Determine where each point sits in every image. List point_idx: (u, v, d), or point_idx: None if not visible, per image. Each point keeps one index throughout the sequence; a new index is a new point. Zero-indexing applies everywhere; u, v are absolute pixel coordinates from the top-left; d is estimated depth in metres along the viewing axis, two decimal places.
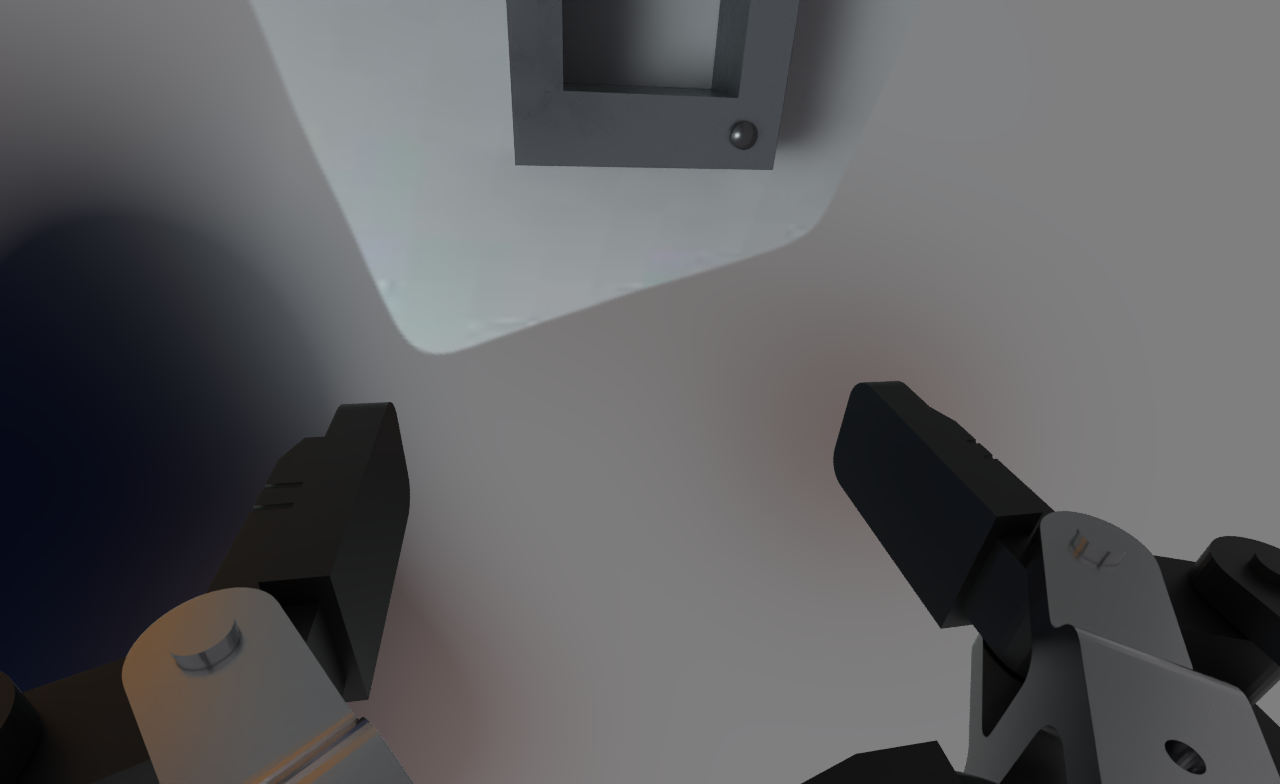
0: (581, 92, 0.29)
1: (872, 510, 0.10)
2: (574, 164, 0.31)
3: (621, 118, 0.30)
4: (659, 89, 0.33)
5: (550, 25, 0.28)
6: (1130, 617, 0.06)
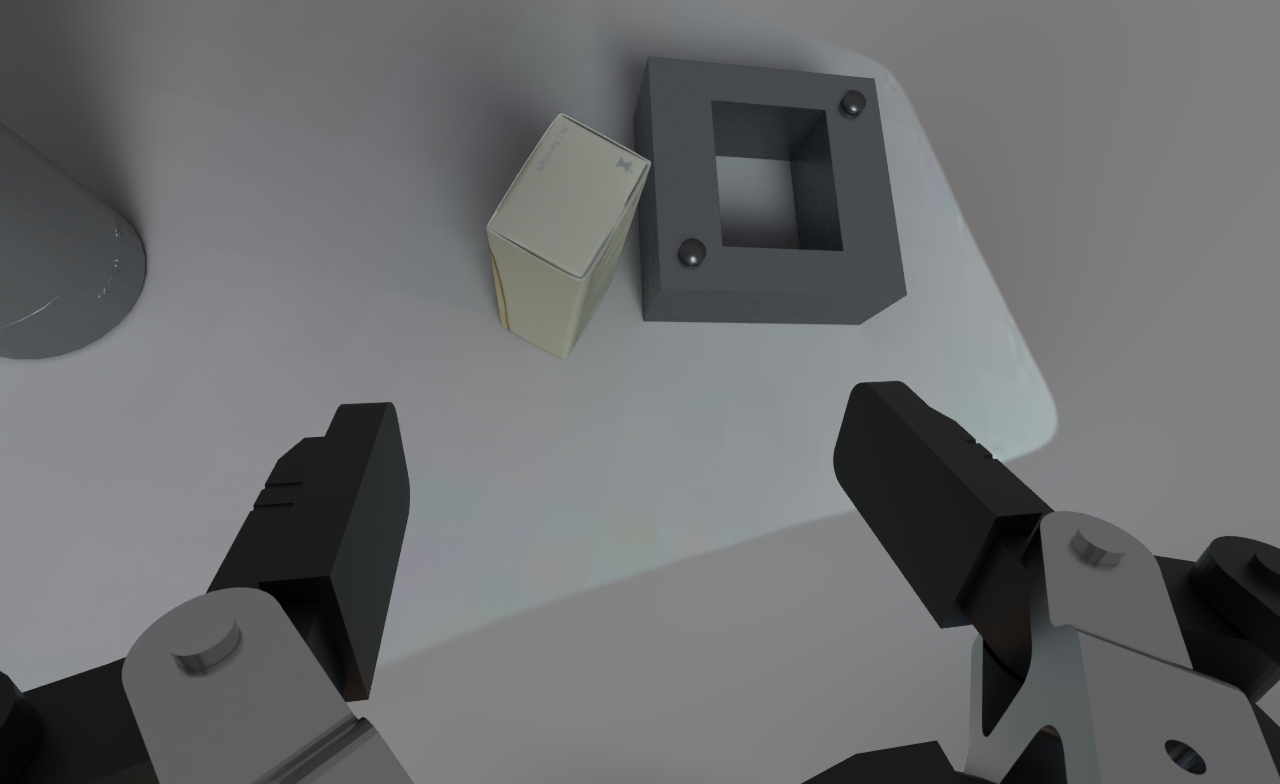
0: (842, 236, 0.33)
1: (872, 510, 0.10)
2: (898, 244, 0.34)
3: (856, 204, 0.34)
4: (806, 193, 0.37)
5: (798, 258, 0.32)
6: (1131, 617, 0.06)
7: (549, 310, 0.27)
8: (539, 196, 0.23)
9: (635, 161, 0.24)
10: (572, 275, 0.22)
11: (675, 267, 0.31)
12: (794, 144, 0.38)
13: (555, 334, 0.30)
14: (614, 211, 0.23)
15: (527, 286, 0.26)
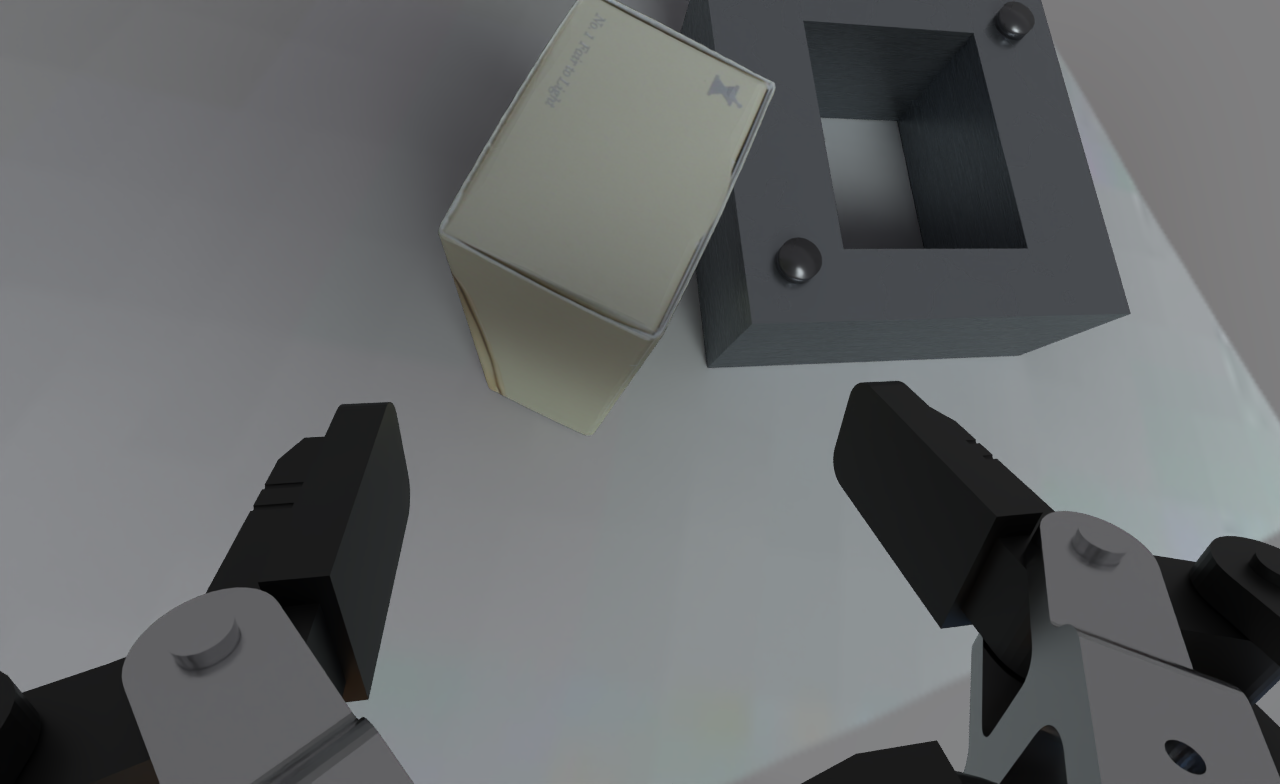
0: (1022, 225, 0.21)
1: (872, 510, 0.10)
2: (1106, 234, 0.21)
3: (1036, 175, 0.22)
4: (935, 165, 0.25)
5: (962, 263, 0.20)
6: (1130, 617, 0.06)
7: (573, 380, 0.15)
8: (552, 159, 0.11)
9: (744, 84, 0.12)
10: (633, 328, 0.10)
11: (773, 287, 0.19)
12: (910, 94, 0.26)
13: (579, 409, 0.18)
14: (711, 186, 0.11)
15: (532, 342, 0.13)
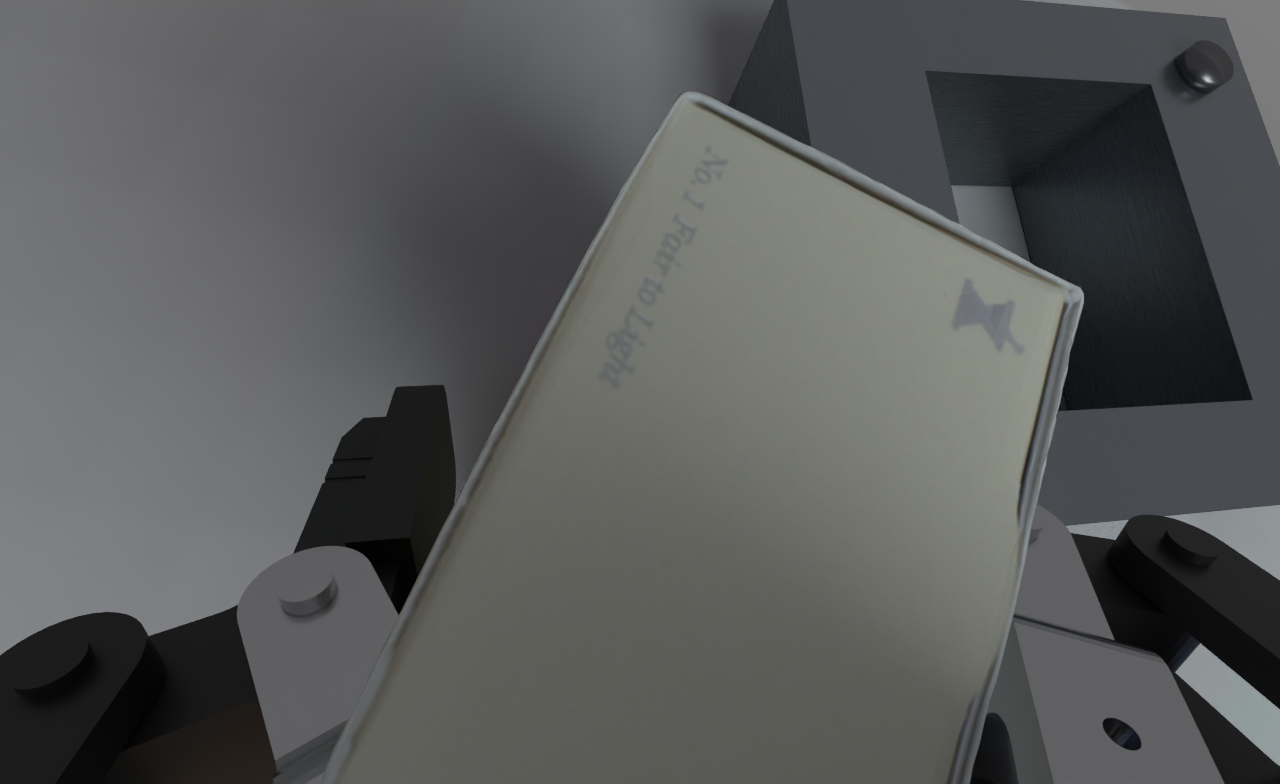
0: (1241, 365, 0.15)
1: None
2: None
3: (1252, 288, 0.15)
4: (1077, 254, 0.19)
5: (1167, 427, 0.14)
6: (1053, 591, 0.06)
7: None
8: (620, 531, 0.04)
9: (1024, 296, 0.05)
10: None
11: None
12: (1039, 157, 0.20)
13: None
14: (980, 560, 0.05)
15: None
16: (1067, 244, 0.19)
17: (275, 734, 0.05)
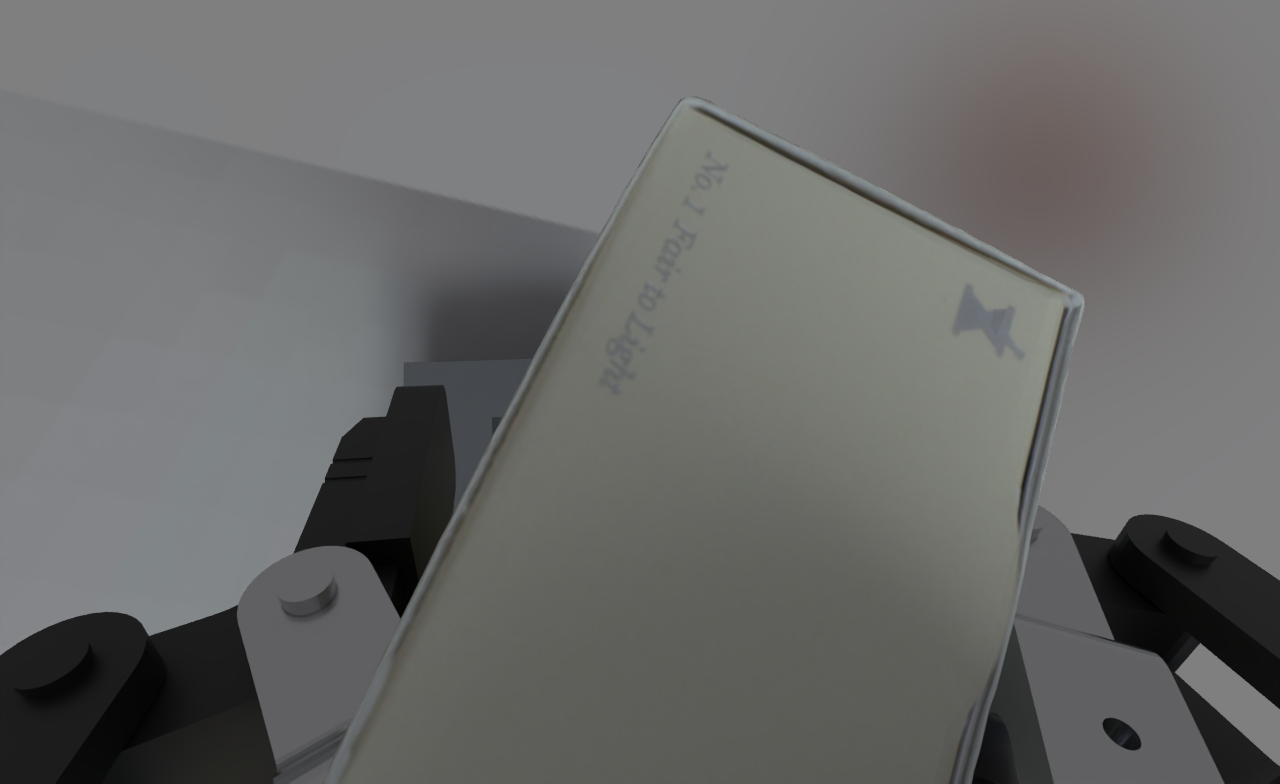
0: None
1: None
2: None
3: None
4: None
5: None
6: (1053, 592, 0.06)
7: None
8: (621, 537, 0.04)
9: (1024, 301, 0.05)
10: None
11: None
12: None
13: None
14: (981, 567, 0.05)
15: None
16: None
17: (275, 734, 0.05)
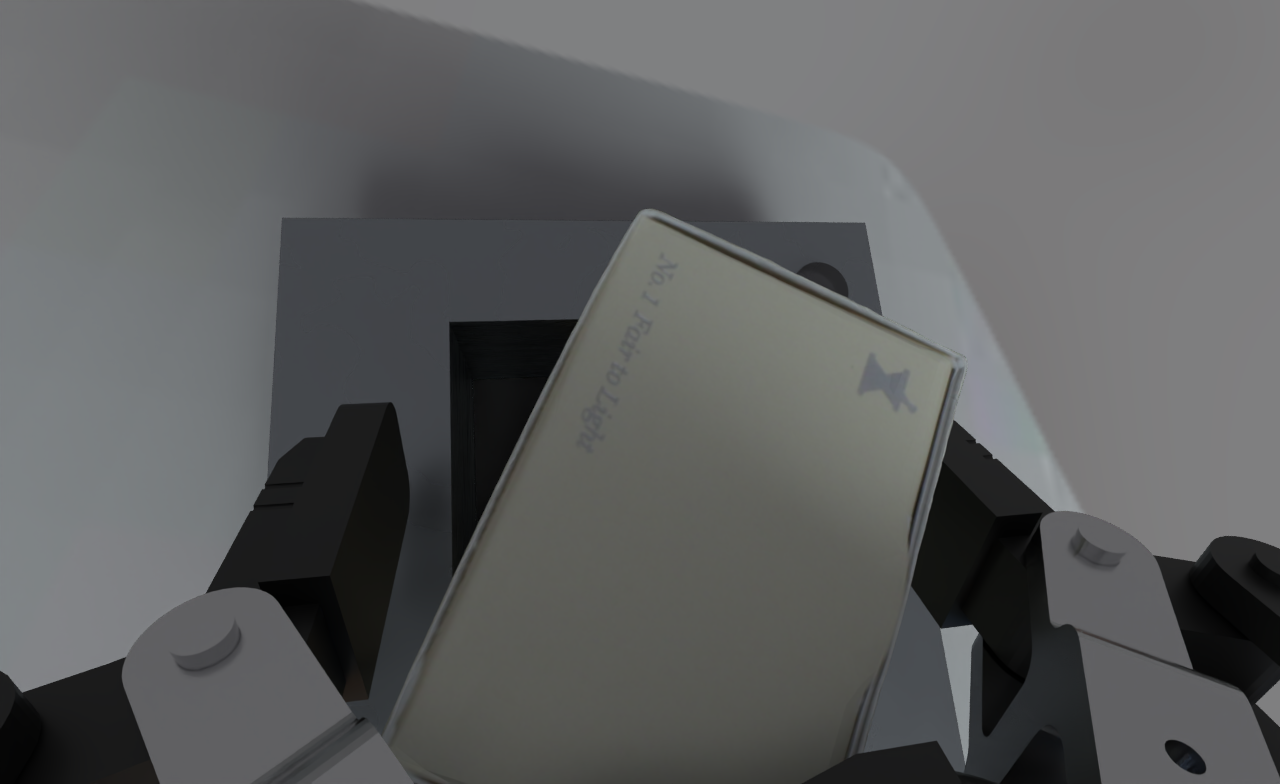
0: None
1: None
2: (945, 674, 0.13)
3: None
4: None
5: None
6: (1130, 616, 0.06)
7: None
8: (594, 563, 0.06)
9: (917, 366, 0.07)
10: None
11: None
12: None
13: None
14: (876, 580, 0.06)
15: None
16: None
17: None
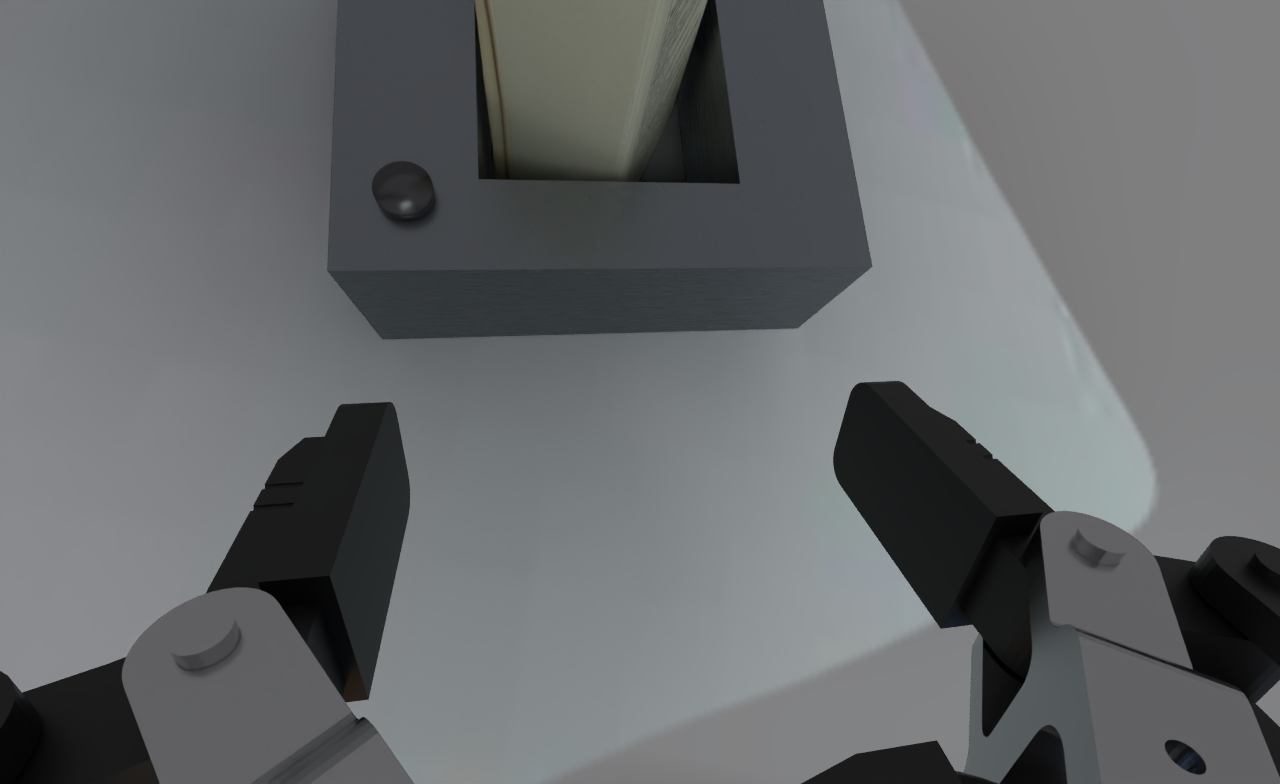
0: (737, 155, 0.17)
1: (872, 510, 0.10)
2: (851, 169, 0.17)
3: (765, 95, 0.17)
4: (691, 97, 0.21)
5: (645, 200, 0.16)
6: (1129, 616, 0.06)
7: (590, 86, 0.14)
8: None
9: None
10: None
11: (366, 225, 0.14)
12: None
13: (594, 169, 0.17)
14: None
15: (546, 10, 0.12)
16: (688, 91, 0.21)
17: None
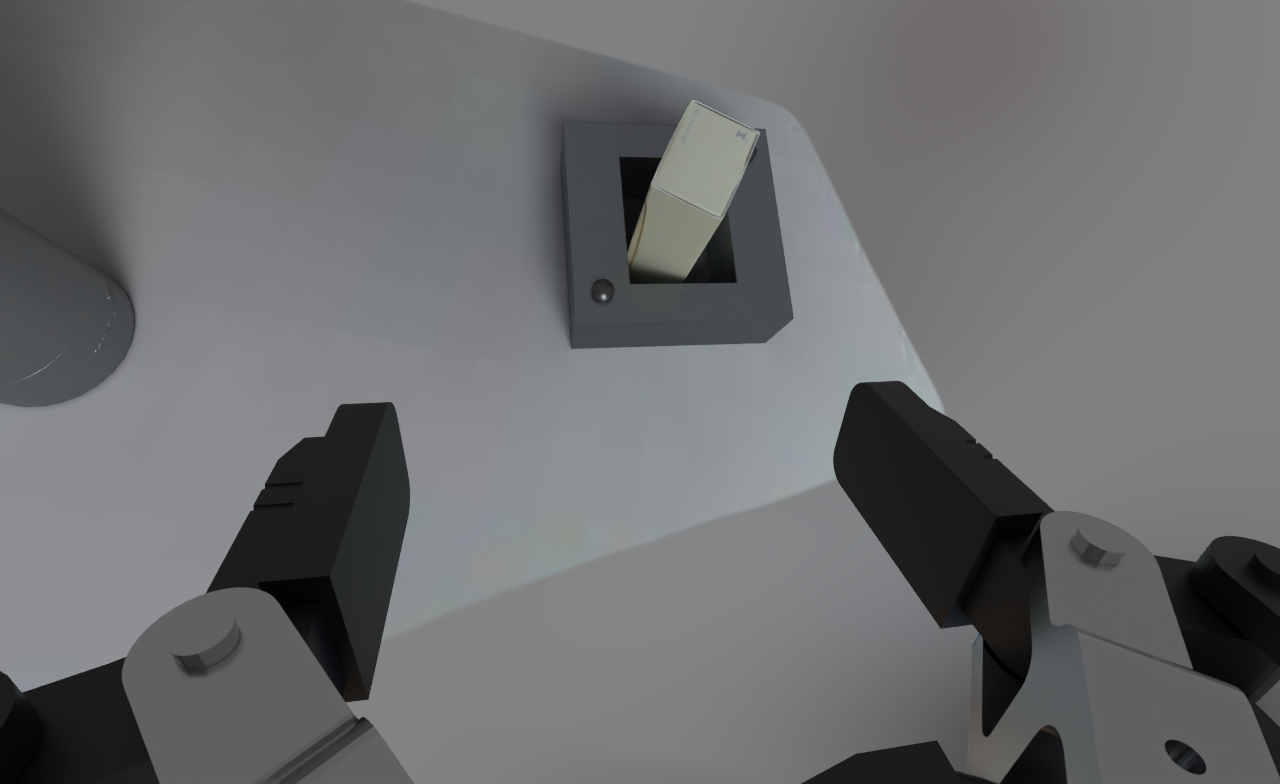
0: (735, 270, 0.38)
1: (872, 510, 0.10)
2: (785, 275, 0.39)
3: (748, 241, 0.39)
4: None
5: (697, 291, 0.38)
6: (1129, 616, 0.06)
7: (678, 251, 0.36)
8: (685, 160, 0.31)
9: (748, 132, 0.32)
10: (714, 215, 0.31)
11: (588, 304, 0.36)
12: None
13: (673, 275, 0.39)
14: (737, 169, 0.32)
15: (666, 231, 0.34)
16: None
17: None
